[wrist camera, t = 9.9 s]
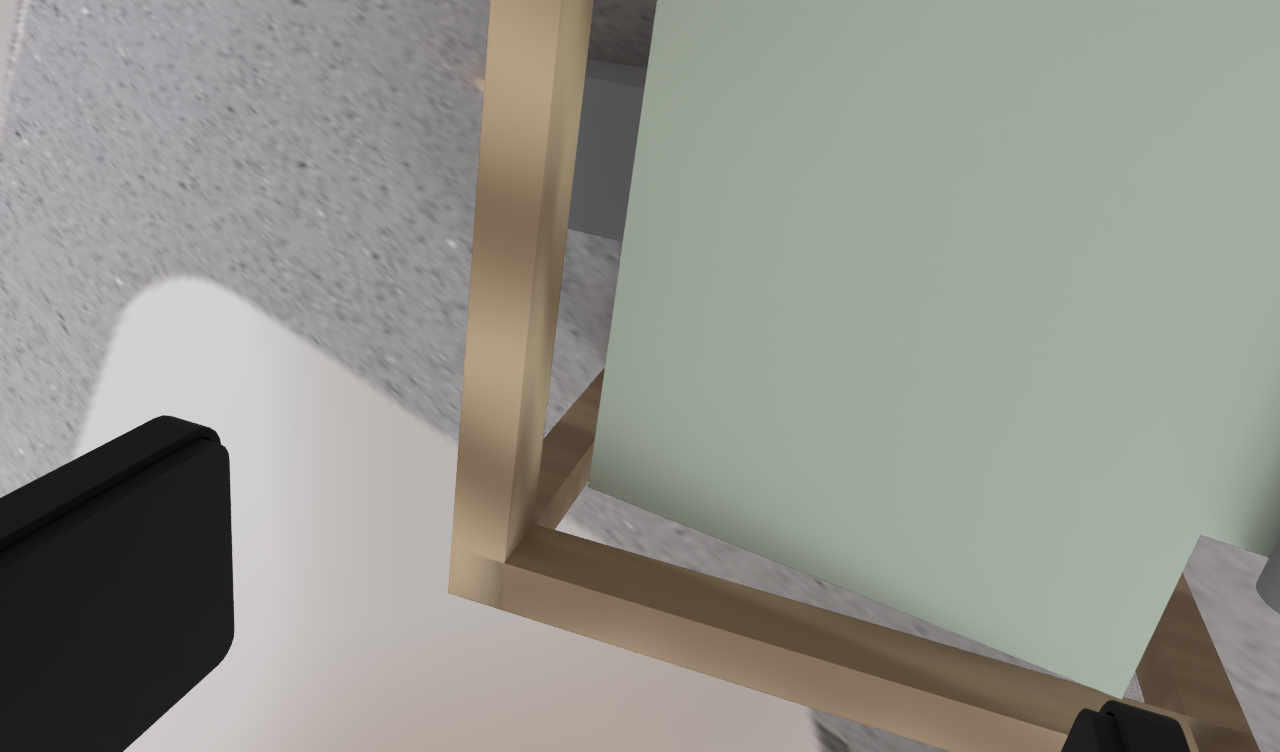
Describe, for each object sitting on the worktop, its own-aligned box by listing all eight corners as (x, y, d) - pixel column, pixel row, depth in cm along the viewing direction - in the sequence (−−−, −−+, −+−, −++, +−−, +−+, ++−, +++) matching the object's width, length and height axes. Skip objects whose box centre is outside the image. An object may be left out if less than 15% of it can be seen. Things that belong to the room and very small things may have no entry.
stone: (674, 253, 31) (507, 214, 32) (706, 220, 35) (559, 187, 37) (700, 99, 29) (520, 64, 30) (731, 84, 33) (573, 54, 34)
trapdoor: (1274, 732, 21) (1288, 808, 19) (604, 472, 27) (562, 508, 25) (1681, 30, 15) (1769, 32, 13) (691, -106, 21) (644, -120, 19)
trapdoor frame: (1125, 507, 35) (1252, 847, 21) (618, 377, 39) (447, 592, 25) (1379, -82, 26) (1864, -156, 13) (701, -173, 30) (512, -304, 17)
